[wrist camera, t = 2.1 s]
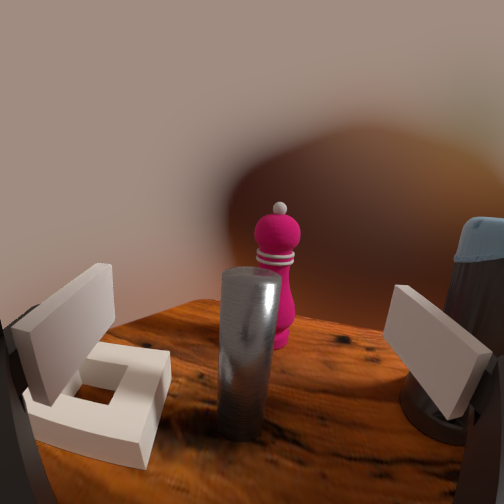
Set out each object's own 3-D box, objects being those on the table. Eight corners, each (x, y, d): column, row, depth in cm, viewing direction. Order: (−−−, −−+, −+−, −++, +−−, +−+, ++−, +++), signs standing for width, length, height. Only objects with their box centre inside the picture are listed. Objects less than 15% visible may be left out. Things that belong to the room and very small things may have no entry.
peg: (260, 411, 30) (278, 268, 26) (263, 442, 26) (285, 288, 22) (217, 410, 30) (223, 264, 26) (215, 440, 26) (220, 284, 22)
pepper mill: (232, 333, 46) (241, 198, 41) (271, 324, 50) (284, 199, 45) (260, 357, 41) (275, 205, 36) (300, 344, 45) (319, 206, 40)
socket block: (171, 378, 34) (169, 351, 33) (145, 470, 21) (138, 443, 20) (68, 361, 33) (62, 334, 32) (17, 431, 20) (2, 402, 19)
